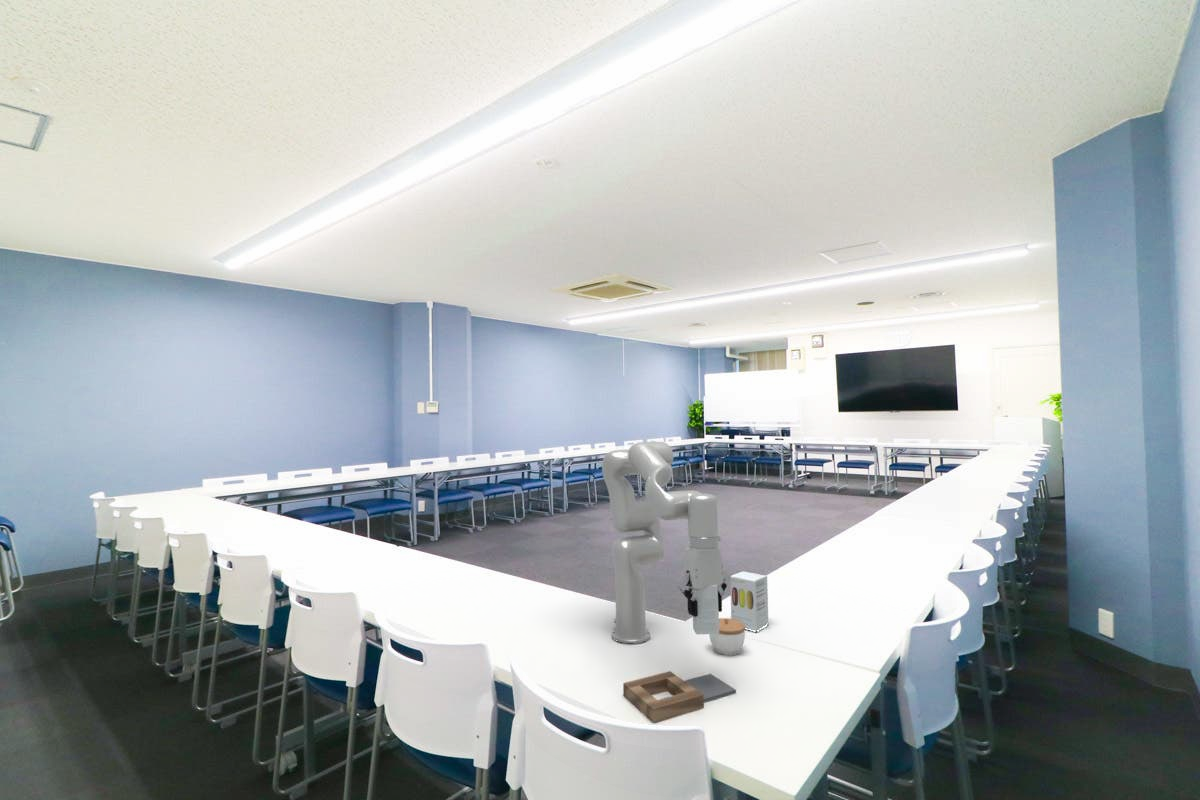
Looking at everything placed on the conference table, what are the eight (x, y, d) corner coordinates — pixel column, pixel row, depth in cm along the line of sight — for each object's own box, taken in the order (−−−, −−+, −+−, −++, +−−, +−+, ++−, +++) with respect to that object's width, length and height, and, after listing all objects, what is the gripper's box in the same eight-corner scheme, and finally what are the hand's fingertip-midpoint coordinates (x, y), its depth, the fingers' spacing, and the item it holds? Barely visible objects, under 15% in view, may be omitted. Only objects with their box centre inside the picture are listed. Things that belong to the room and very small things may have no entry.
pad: (679, 685, 133) (679, 681, 133) (710, 676, 137) (710, 673, 137) (703, 702, 124) (703, 699, 124) (736, 693, 128) (735, 689, 128)
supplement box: (730, 626, 173) (728, 575, 174) (743, 619, 180) (741, 570, 181) (757, 633, 167) (755, 580, 168) (769, 626, 173) (767, 575, 175)
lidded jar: (740, 661, 146) (739, 627, 147) (704, 654, 152) (703, 621, 152) (749, 647, 156) (748, 616, 156) (714, 641, 161) (714, 610, 162)
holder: (623, 695, 128) (623, 683, 128) (670, 683, 134) (670, 671, 134) (653, 723, 115) (653, 709, 115) (703, 707, 121) (703, 694, 122)
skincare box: (715, 628, 134) (714, 581, 135) (719, 634, 129) (718, 585, 130) (692, 628, 134) (691, 581, 134) (695, 634, 129) (694, 586, 130)
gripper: (720, 536, 140) (722, 603, 139) (667, 543, 133) (668, 613, 131) (739, 541, 134) (741, 611, 132) (684, 548, 126) (686, 623, 125)
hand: (705, 612), depth 132 cm, fingers closed on skincare box, 7 cm apart
